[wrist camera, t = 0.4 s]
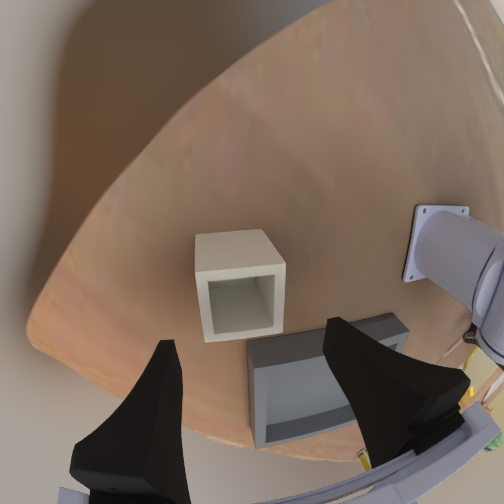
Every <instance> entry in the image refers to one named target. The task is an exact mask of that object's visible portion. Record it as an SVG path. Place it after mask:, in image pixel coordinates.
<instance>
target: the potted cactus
mask: <svg viewBox="0 0 504 504" xmlns="http://www.w3.org/2000/svg"><path fill="white" fill-rule="evenodd" d="M483 407H484V409H485V410H486V411H487V412H488V413H489V415H491V414H492V413H493V412H494V409H490V408H488V407H485V406H483ZM502 443H503V434H502V432H500V433H499V434H498V435H497V436H496V437H495V438H494V439H493V440H492V441H491V442H490V443H489V444H488V445H487V446H486V447H485V448H484V449H483V450H484V452H487V453H488V452H491V451H492V450H496V449H497V448H498V447H500V445H502Z"/></svg>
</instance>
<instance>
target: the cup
mask: <svg viewBox="0 0 504 504" xmlns="http://www.w3.org/2000/svg"><path fill="white" fill-rule="evenodd" d="M285 276H286V263H285V261H284V260H283V258H282V257H281V256H280V254H279V253H278V251H277V250H276V248H275V247H274V246H273V244H272V243H271V241H270V240H269V239H268V237H267V236H266V234H265V233H264V232H263V230H262V229H254V230H241V231H228V232H216V233H205V234H195V277H196V285H197V292H198V300H199V307H200V314H201V321H202V327H203V334H204V340H205V343H208V342H218V341H227V340H235V339H243V338H251V337H258V336H265V335H272V334H278V333H283V316H284V298H285Z"/></svg>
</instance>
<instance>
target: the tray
mask: <svg viewBox="0 0 504 504" xmlns="http://www.w3.org/2000/svg"><path fill="white" fill-rule="evenodd" d="M349 324H351V325H352V326H354V327H355V328H357V329H358V330H360V331H362V332H363V333H365V334H366V335H368V336H369V337H371V338H373V339H374V340H376V341H378V342H379V343H381V344H383V345H385V346H387V347H388V348H390V349H392V350H394V351H397V352H399V353H401V352H402V350H403V347H404V345H405V342H406V340H407V337H408V335H409V332H410V331H409V330H408V328H407V327H406V326H405V325H404V324H403V323H402V322H401V321H400V320H399V319H398V318H397V317H396V316H395V315H394V314H393V313H389V314H385V315H381V316H377V317H373V318H369V319H365V320H361V321H356V322H352V323H349ZM325 331H326V328H324V329H319V330H314V331H308V332H303V333H297V334H292V335H286V336H279V337H273V338H266V339H260V340H252V341H247V365H248V388H249V409H250V428H251V432H252V436H253V440H254V444H255V448H262V447H268V446H273V445H278V444H283V443H287V442H292V441H296V440H300V439H304V438H308V437H312V436H315V435H319V434H322V433H326V432H329V431H332V430H336V429H339V428H342V427H345V426H348V425H351V424H353V423H356V422H357V420H356V417H355V415H354V412H353V410H352V408H351V405H350V403H349V401H348V399H347V398H346V396H345V394H344V392H343V391H342V389H341V387H340V385H339V384H338V382H337V380H336V379H335V377H334V375H333V373H332V371H331V370H330V368H329V366H328V363H327V361H326V359H325V356H324V353H323V351H322V348H323V343H324V337H325Z"/></svg>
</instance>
